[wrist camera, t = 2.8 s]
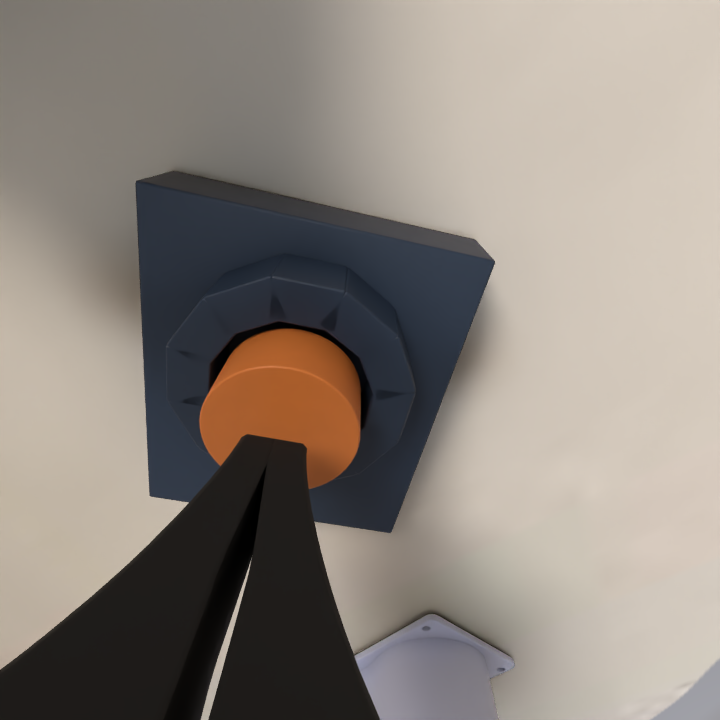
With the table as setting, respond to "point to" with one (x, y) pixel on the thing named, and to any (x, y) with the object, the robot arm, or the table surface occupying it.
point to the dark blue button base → (299, 324)
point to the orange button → (287, 400)
